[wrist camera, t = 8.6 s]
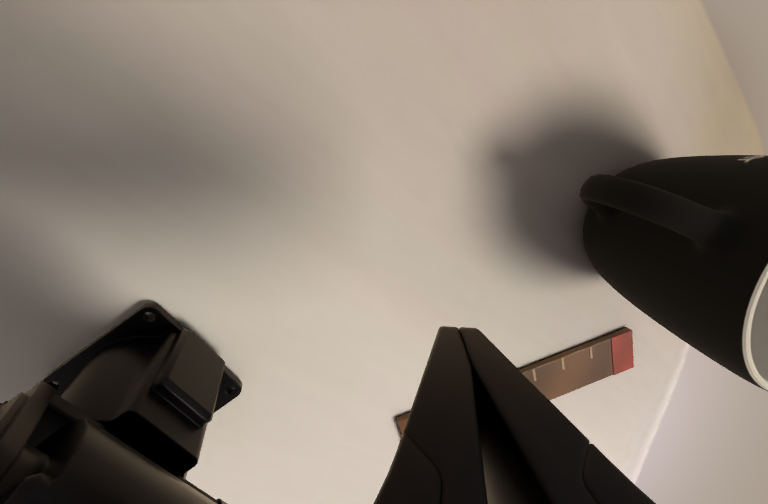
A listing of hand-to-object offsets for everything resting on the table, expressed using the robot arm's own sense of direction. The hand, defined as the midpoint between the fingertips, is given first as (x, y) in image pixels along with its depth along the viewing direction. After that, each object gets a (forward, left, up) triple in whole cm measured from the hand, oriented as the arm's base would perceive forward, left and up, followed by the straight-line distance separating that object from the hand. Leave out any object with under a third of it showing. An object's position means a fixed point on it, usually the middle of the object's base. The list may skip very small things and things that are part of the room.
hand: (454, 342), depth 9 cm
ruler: (+2, -16, -12) cm, 20 cm away
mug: (+12, -8, -12) cm, 19 cm away
